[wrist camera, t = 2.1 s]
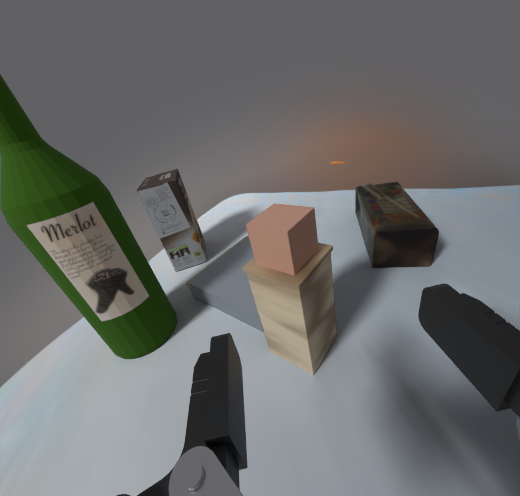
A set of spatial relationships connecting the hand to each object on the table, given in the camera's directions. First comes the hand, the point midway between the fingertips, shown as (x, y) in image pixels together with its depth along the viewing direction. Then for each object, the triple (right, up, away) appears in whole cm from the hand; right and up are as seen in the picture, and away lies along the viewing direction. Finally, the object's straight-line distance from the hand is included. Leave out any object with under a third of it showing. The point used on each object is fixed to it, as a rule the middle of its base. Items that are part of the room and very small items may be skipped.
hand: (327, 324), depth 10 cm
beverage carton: (+19, +5, +33) cm, 38 cm away
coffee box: (-17, +1, +41) cm, 44 cm away
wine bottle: (-19, -9, +25) cm, 32 cm away
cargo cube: (0, +2, +12) cm, 12 cm away
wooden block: (+2, -8, +18) cm, 20 cm away
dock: (-3, -2, +29) cm, 29 cm away
